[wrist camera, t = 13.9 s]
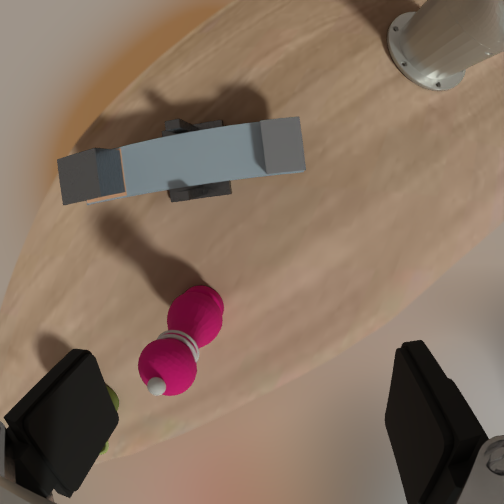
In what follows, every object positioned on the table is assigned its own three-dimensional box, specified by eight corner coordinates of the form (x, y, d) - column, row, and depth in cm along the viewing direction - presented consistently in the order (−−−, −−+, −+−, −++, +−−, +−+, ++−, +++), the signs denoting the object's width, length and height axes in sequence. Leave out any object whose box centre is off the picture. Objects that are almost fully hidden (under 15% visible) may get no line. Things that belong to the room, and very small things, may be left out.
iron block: (119, 150, 34) (94, 147, 28) (125, 192, 35) (101, 196, 29) (85, 159, 34) (57, 159, 28) (90, 199, 35) (63, 205, 29)
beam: (295, 120, 34) (299, 114, 30) (302, 172, 35) (306, 172, 32) (86, 157, 36) (72, 157, 32) (92, 203, 37) (78, 207, 34)
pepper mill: (181, 276, 45) (116, 349, 25) (231, 288, 44) (195, 372, 25) (176, 321, 47) (119, 406, 27) (223, 332, 46) (188, 428, 27)
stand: (222, 120, 39) (207, 109, 31) (231, 193, 41) (219, 199, 33) (164, 131, 40) (137, 124, 32) (173, 201, 42) (148, 209, 34)
